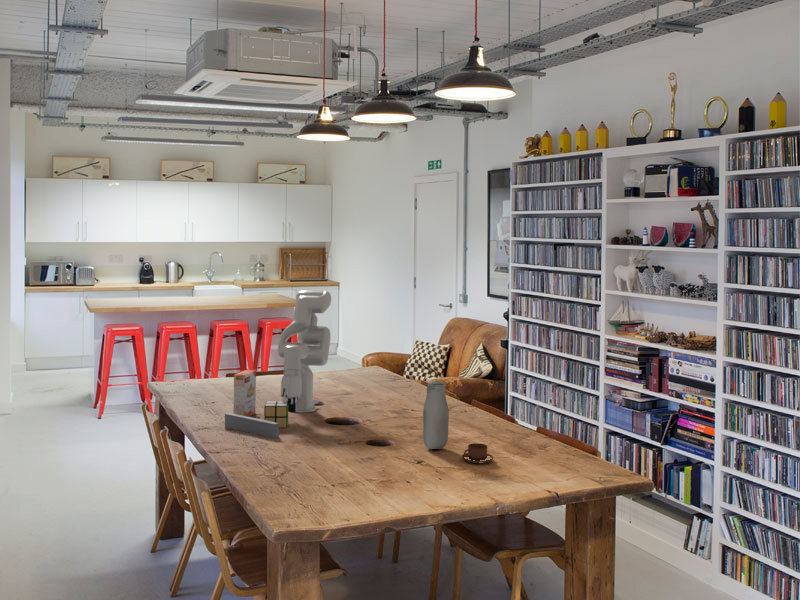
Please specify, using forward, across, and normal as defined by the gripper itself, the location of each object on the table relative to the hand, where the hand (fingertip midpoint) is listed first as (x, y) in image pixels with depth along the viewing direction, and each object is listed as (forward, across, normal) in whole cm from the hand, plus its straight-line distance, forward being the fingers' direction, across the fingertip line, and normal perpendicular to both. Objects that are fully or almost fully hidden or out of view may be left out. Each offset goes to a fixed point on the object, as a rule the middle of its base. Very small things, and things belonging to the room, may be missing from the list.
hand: (291, 412), depth 377 cm
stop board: (+4, +26, 0) cm, 26 cm away
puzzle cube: (+5, +10, 0) cm, 11 cm away
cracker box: (+4, +7, -23) cm, 24 cm away
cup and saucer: (+5, +3, +99) cm, 99 cm away
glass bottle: (+5, -1, +77) cm, 77 cm away
